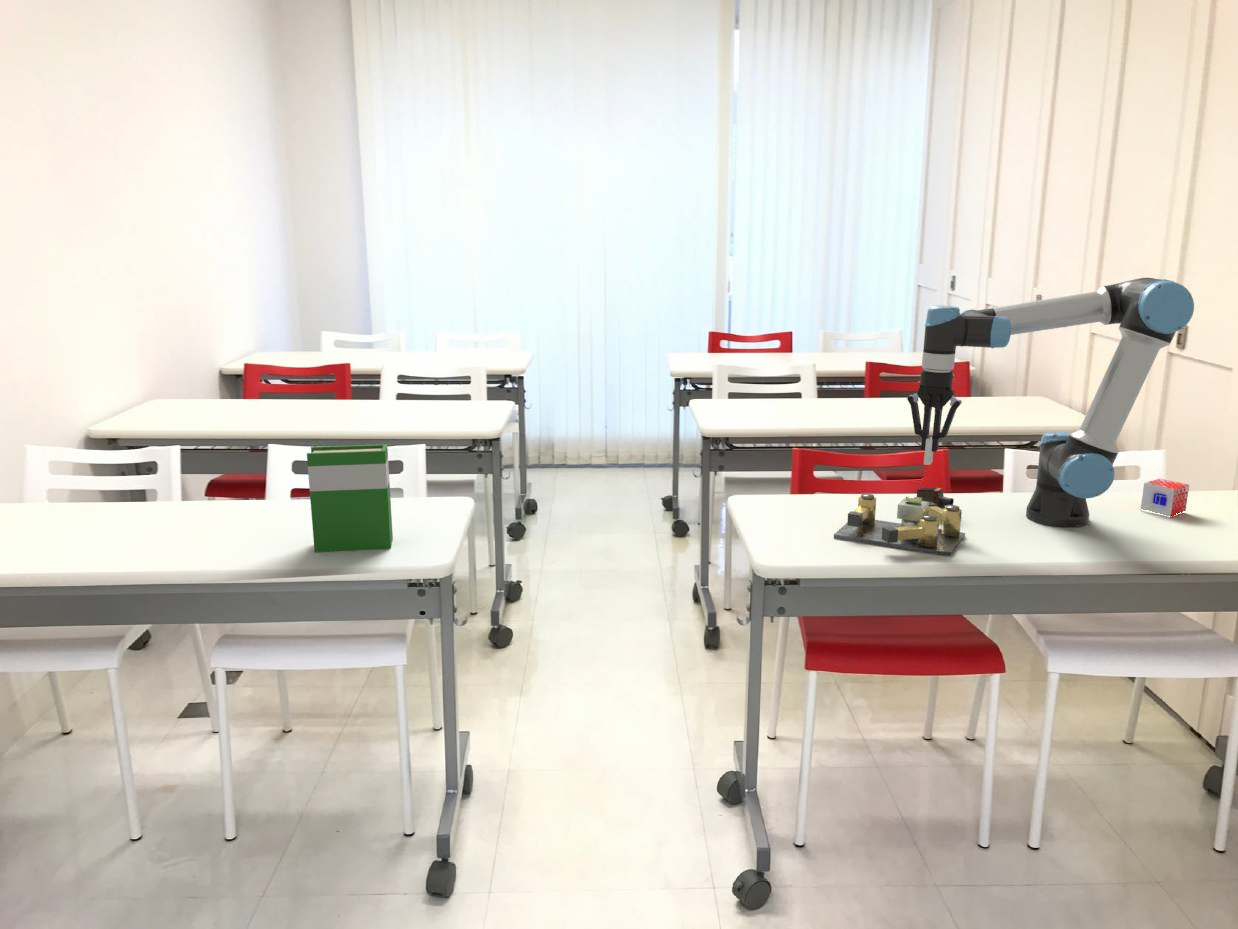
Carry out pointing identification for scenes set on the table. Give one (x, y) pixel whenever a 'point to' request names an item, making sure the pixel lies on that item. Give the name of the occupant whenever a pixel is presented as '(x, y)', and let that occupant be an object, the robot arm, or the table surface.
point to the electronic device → (934, 496)
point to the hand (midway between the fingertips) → (927, 463)
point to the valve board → (910, 515)
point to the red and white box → (1165, 497)
